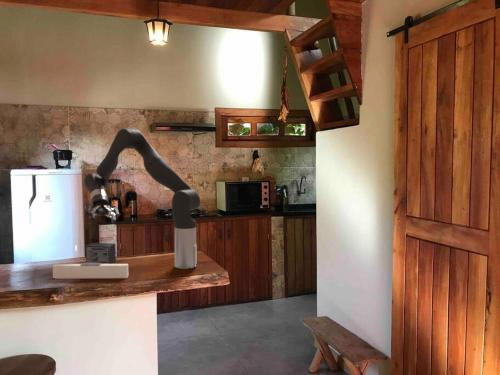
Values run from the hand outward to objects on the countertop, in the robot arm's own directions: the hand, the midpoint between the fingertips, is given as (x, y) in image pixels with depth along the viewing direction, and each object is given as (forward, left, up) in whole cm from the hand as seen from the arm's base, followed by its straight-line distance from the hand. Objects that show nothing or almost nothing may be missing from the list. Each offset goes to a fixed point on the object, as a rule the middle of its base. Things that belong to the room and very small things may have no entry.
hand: (103, 221), depth 170 cm
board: (-1, +19, -19) cm, 27 cm away
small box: (-1, +6, -19) cm, 20 cm away
